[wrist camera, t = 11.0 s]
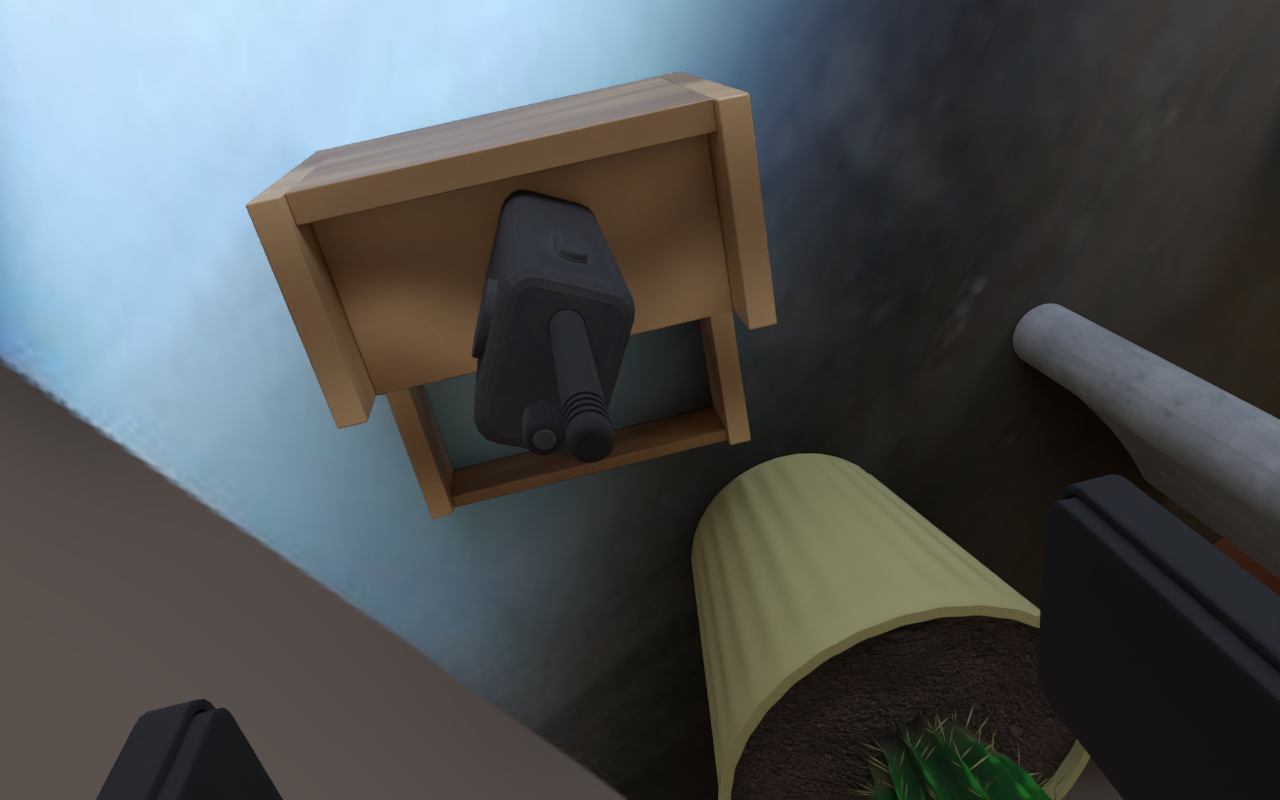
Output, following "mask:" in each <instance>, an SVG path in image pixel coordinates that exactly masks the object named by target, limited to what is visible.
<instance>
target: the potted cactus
mask: <svg viewBox="0 0 1280 800" xmlns="http://www.w3.org/2000/svg"><path fill="white" fill-rule="evenodd" d="M691 562H692V570H693V579H694V587H695V595H696V603H697V611H698V619H699V627H700V635H701V643H702V651H703V659H704V667H705V676H706V684H707V692H708V700H709V708H710V717H711V725H712V733H713V742H714V751H715V760H716V768H717V777H718V786H719V793H718V799H719V800H1061V799H1062V798H1063V797H1064V796H1065V795H1066V793H1067V792H1068V791H1069V790H1070V788H1071V787H1072V786H1073V784H1074V783H1075V781H1076V780H1077V778H1078V777H1079V775H1080V774H1081V772H1082V770H1083V769H1084V767H1085V766H1086V764H1087V762H1088V760H1089V758H1090V755H1089V754H1088V753H1087V752H1086V750H1085V749H1084V748H1083V746H1082V745H1081V744H1080V743H1079V741H1078V740H1077V739H1076V737H1075V736H1074V735H1073V733H1072V732H1071V731H1070V730H1069V728H1068V727H1067V726H1066V724H1065V723H1064V722H1063V721H1062V719H1061V718H1060V717H1059V715H1058V714H1057V713H1056V711H1055V710H1054V709H1053V708H1052V706H1051V705H1050V704H1049V702H1048V701H1047V699H1046V697H1045V695H1044V693H1043V691H1042V689H1041V686H1040V684H1039V680H1038V675H1037V662H1038V645H1039V628H1040V611H1041V610H1039V609H1038V608H1037V607H1036V606H1034V605H1033V604H1032V603H1031V602H1029V601H1028V600H1027V599H1025V598H1024V597H1023V596H1022V595H1020V594H1019V593H1018V592H1017V591H1015V590H1014V589H1013V588H1012V587H1010V586H1009V585H1008V584H1006V583H1005V582H1004V581H1003V580H1001V579H1000V578H999V577H998V576H996V575H995V574H994V573H993V572H991V571H990V570H989V569H988V568H986V567H985V566H984V565H983V564H981V563H980V562H979V561H978V560H976V559H975V558H974V557H973V556H971V555H970V554H969V553H968V552H966V551H965V550H964V549H963V548H961V547H960V546H959V545H958V544H956V543H955V542H954V541H953V540H951V539H950V538H949V537H948V536H947V535H945V534H944V533H943V532H942V531H940V530H939V529H938V528H937V527H935V526H934V525H933V524H932V523H930V522H929V521H928V520H927V519H925V518H924V517H923V516H922V515H920V514H919V513H918V512H917V511H915V510H914V509H913V508H912V507H910V506H909V505H908V504H907V503H905V502H904V501H903V500H902V499H900V498H899V497H898V496H897V495H896V494H894V493H893V492H892V491H891V490H889V489H888V488H887V487H886V486H884V485H883V484H882V483H881V482H879V481H878V480H877V479H876V478H874V477H873V476H872V475H870V474H868V473H866V472H865V471H864V470H863V469H861V468H860V467H859V466H858V465H855V464H853V463H851V462H849V461H846V460H844V459H841V458H838V457H835V456H830V455H824V454H814V453H808V454H793V455H788V456H783V457H779V458H775V459H772V460H769V461H767V462H764V463H761V464H759V465H757V466H755V467H753V468H751V469H749V470H748V471H746V472H744V473H742V474H741V475H739V476H738V477H737V478H735V479H734V480H733V481H731V482H730V483H729V484H728V485H727V486H725V487H724V488H723V489H722V490H721V491H720V492H719V493H718V495H717V496H716V497H715V498H714V499H713V500H712V502H711V503H710V504H709V506H708V507H707V509H706V510H705V512H704V514H703V516H702V517H701V519H700V521H699V524H698V527H697V529H696V532H695V536H694V540H693V547H692V557H691Z"/></svg>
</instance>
